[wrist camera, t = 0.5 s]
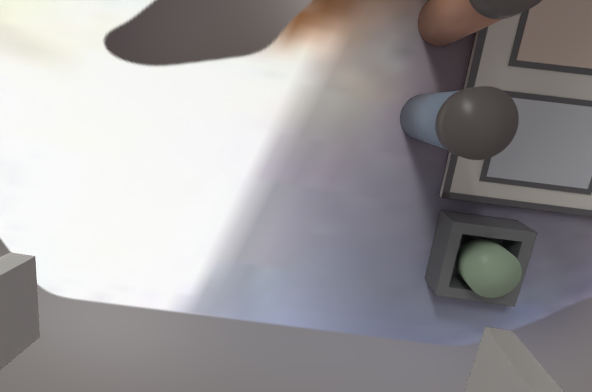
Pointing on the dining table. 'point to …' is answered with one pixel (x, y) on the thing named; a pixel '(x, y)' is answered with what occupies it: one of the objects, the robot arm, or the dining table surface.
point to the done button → (488, 267)
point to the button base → (459, 231)
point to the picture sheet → (535, 111)
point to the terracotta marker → (464, 17)
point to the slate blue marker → (463, 121)
